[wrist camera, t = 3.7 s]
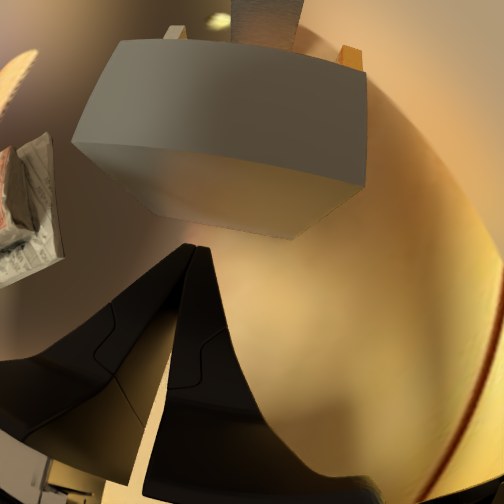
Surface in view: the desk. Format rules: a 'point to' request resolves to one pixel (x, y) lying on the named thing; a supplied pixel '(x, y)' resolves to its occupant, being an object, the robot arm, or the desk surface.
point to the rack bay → (270, 27)
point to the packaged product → (28, 211)
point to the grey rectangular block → (228, 133)
